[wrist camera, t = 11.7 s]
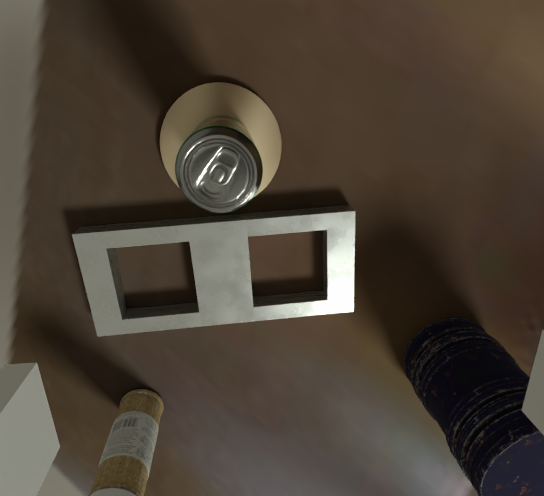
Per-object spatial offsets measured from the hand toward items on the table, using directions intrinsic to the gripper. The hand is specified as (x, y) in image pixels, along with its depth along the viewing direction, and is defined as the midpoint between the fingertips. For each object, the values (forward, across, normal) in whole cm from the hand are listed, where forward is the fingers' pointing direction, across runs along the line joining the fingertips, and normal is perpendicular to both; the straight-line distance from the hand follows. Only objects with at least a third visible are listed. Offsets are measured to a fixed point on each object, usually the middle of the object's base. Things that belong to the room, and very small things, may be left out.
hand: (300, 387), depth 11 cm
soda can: (+26, -3, +3) cm, 27 cm away
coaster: (+27, -3, +3) cm, 27 cm away
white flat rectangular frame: (+27, -3, -8) cm, 28 cm away
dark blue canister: (+27, +20, -20) cm, 39 cm away
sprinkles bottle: (+27, -13, -24) cm, 38 cm away
